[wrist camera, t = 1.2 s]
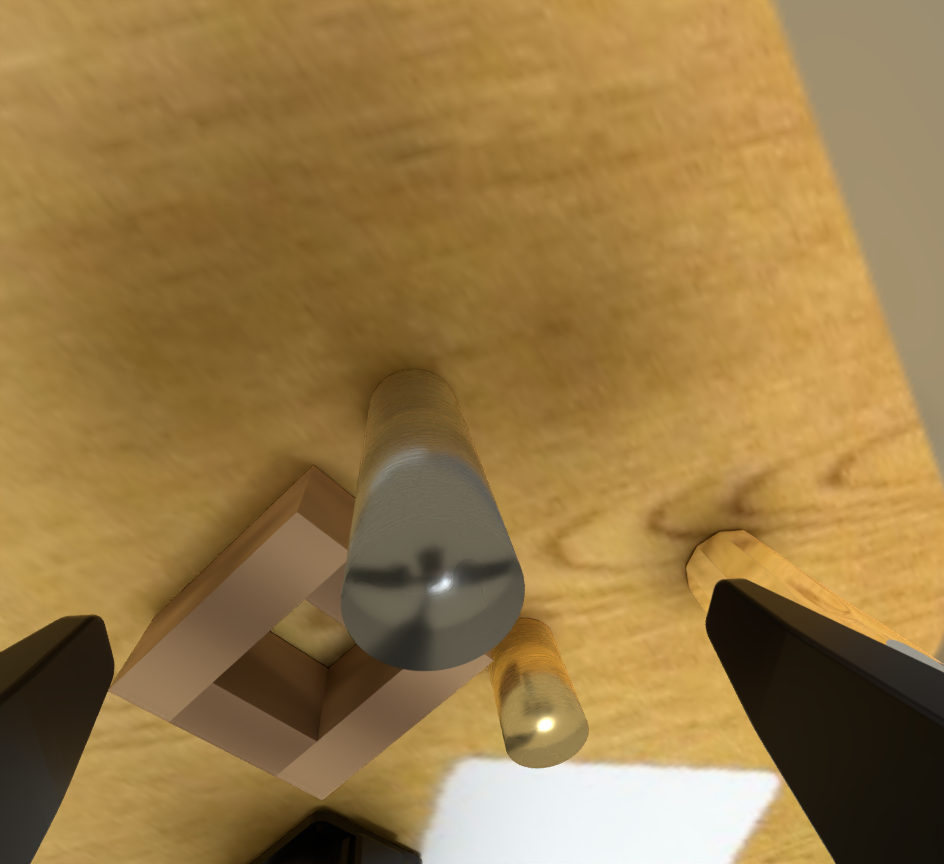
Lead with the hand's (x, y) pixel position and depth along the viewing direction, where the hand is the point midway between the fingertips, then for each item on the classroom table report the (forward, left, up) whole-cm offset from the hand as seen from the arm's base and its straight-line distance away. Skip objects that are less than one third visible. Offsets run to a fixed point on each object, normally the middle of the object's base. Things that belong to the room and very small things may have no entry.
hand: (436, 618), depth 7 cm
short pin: (-4, -10, -9) cm, 14 cm away
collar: (-7, -3, -9) cm, 12 cm away
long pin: (0, 0, -9) cm, 9 cm away
